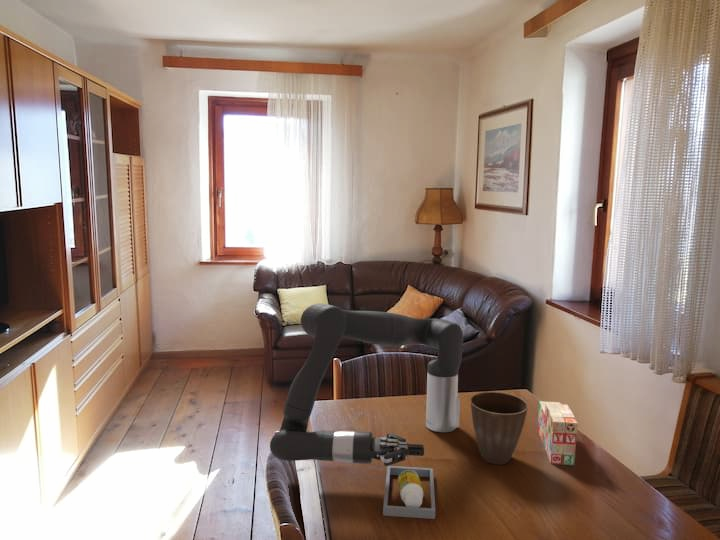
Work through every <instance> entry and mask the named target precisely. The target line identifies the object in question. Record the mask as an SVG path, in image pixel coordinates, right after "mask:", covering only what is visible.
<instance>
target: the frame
mask: <svg viewBox="0 0 720 540" xmlns="http://www.w3.org/2000/svg"><path fill="white" fill-rule="evenodd" d="M405 470H413V471H415V472H416V473H417V474H418V476H419V478H420V477H421V478H429V489H430V490H429V491H430V492H429V493H430V494H429V495H430V507H419V508H418V507H407V506H403V505H402V506H399V505H388V503H389V493H390V485H391V484H390V483H391V482H390V479H391V476H399V475H400V473H401V472H403V471H405ZM434 481H435V479H434V468H430V467H417V466H416V467H414V466H413V467H412V466H400V465H399V466H397V465H396V466H395V465H389V466H386V477H385V486H384V495H383V507H382V516H386V517H398V518H399V517H401V518H403V517H404V518H414V519H417V518H418V519H426V520H427V519H428V520H431V519H432V520H435V519H436V499H435V495H436V494H435V482H434Z"/></svg>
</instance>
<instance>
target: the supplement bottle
mask: <svg viewBox="0 0 720 540" xmlns="http://www.w3.org/2000/svg"><path fill="white" fill-rule="evenodd" d="M397 485H398V490H399V496H400V500H401V501H402V502H403V503H404V505H405V507H418V508H421V506H422V504H423V499H424V490H423V486H422V484H421V479H420V477H419V476H418V474H417V473H416V472H415V471H413V470H405V471H403V472H401V473H400V475H398V477H397Z"/></svg>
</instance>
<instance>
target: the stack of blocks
mask: <svg viewBox="0 0 720 540" xmlns="http://www.w3.org/2000/svg"><path fill="white" fill-rule="evenodd" d="M537 423H538V424H537V430H538V433H539V436H541V437H540V439H541V443H542V444H543V446H545V447H544V449H545V452H546V454H547V458H548V460H549V464H550V465H565V466H575V461H576V460H575V459H576V445H577V439H578V438H577V437H578V426H579V422H578V421H577V419H576V417H575V415H574V414H573V412H572V410H571V409H570V407H569V405H568V404H563V403H561V402H560V401H559V402H558V401H541V400H540V401H538V422H537Z"/></svg>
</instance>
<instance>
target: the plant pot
mask: <svg viewBox="0 0 720 540" xmlns="http://www.w3.org/2000/svg"><path fill="white" fill-rule="evenodd" d="M528 406H529V405H528V402H526V401H525V399H523V398H521V397H518V396H516V395H514V394H513V395H512V394H510V393H505V392H499V391H498V392H497V391H485V392H480V393H476V394H474V395H472V396H471V398H470V411H471V418H472V426H473V429H474V435H475V439H476V443H477V447H478V449H479V452H480V455H481V458H482V459H483V460H484V461H486V462H487V463H490V464H493V465H504V464H507V463H509V461H510V460H511V458H512V456H513V454H514V452H515V449H516V448H517V445H518V443H519V441H520V437H521V434H522V431H523V428H524V424H525V422H526V418H527V417H526V416H527V413H528V410H529V408H528Z"/></svg>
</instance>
